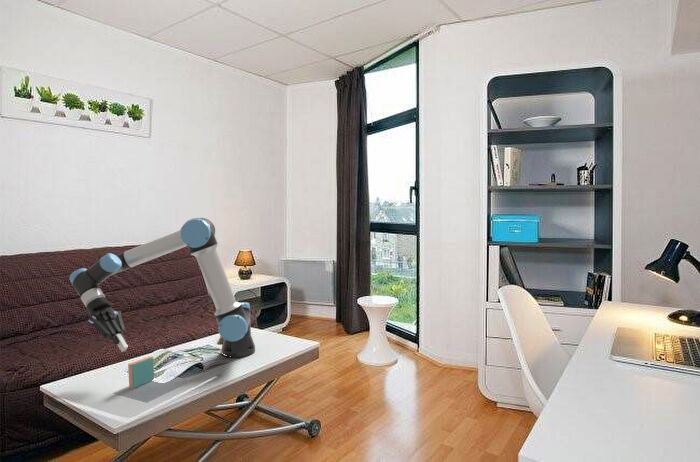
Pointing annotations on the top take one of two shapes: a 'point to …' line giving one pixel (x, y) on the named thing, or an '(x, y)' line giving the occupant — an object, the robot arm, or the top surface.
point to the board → (151, 389)
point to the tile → (140, 372)
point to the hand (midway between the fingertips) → (125, 349)
